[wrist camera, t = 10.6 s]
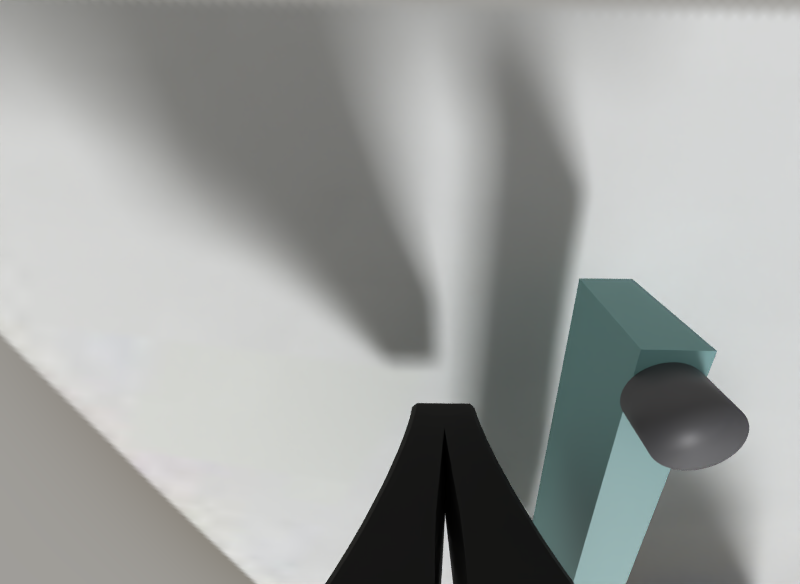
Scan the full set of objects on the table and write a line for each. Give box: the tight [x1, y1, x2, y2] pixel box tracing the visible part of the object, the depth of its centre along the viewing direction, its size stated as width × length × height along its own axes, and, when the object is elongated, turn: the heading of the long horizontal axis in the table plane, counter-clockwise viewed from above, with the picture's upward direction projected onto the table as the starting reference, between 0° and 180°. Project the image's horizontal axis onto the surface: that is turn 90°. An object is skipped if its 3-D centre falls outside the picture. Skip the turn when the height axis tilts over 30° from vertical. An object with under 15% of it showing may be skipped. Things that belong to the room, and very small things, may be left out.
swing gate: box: [533, 279, 749, 584], centre depth 8 cm, size 10×1×3 cm, turn 1°
